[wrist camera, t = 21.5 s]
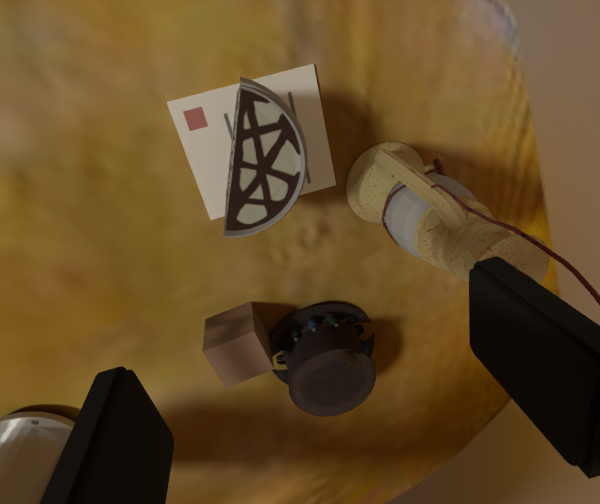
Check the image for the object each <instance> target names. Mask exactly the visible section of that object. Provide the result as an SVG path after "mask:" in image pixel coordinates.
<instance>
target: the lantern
mask: <svg viewBox="0 0 600 504" xmlns="http://www.w3.org/2000/svg"><path fill="white" fill-rule="evenodd" d="M433 162H434V163H432V164H429V165H427V166H424V163H423V161H422V159H421V157H420V156H419V154H418V153H417V152H416V151H415V150H414V149H413V148H411V147H410V146H408V145H406V144H403V143H400V142H384V143H380V144H377V145H375V146H373V147H371V148H369V149H368V150H366V151H365V152H364V153H363V154H361V155H360V156H359V158H358V159H357V160H356V161H355V163H354V164H353V166H352V167H351V169H350V171H349V174H348V176H347V182H346V196H347V199H348V202H349V205H350V207H351V208H352V210H353V211H354V212H355V213H356V214H357V215H358V216H359V217H360V218H362V219H364V220H366V221H368V222H372V223H378V224H381V225H383V226H384V227H385V229H386V230H387V232H388V234H389V236H390V237H391V238H392V239H393V240H394V242H395V243H396V244H398V245H400V246H401V247H402V248H403V249H404V250H406V251H407V252H409V253H410V254H412V255H414V256H416V257H418V258H420V259H422V260H424V261H426V262H428V263H431V265H433V266H435V267H437V268H439V269H443V270H446V271H448V272H450V273H452V274H455V275H456V276H457V277H458V278H459V279H461V280H463V281H465V282H469V271H470V270H471V269H473V268H474V264H475V263H476V262H478V261H481V260H485V259H488V258H492V257H495V256H498V257H500V258H502V259H504V260H505V261H507V262H508V263H509V264H511V265H512V266H514V267H515V268H517V269H518V270H520V271H521V272H522V273H524V274H525V275H527V276H528V277H530V278H531V279H533V280H534V281H535V282H537V283H538V284H541V282H542V281H543V279H544V277H545V275H546V273H547V270H548V267H549V259H550V258H549V255H550V256H551V257H553V258H554V259H556V260H557V261H559V262H560V263H562V264H563V265H564V266H565V267H566V268H567V269H569V270H570V271H571V272H572V273H573V274H574V275H575V276H576V277H577V279H578V280H579V281H580V282H581V283H582V284H583V285H584V286H585V288H586V289H587V290H588V291H589V292H590V293H591V295H592V296H593V297H594V298H595V300H596V301H597V302H598V304H599V305H600V296H599V295H598V293H597V292H596V291H595V290H594V289H593V287H592V286H591V285H590V284H589V283H588V282H587V281H586V280H585V278H584V277H583V276H582V275H581V274H580V273H579V272H578V271H577V270H576V269H575V268H574V267H572V265H570V264H569V263H568V262H567V261H566V260H564V259H563V258H561V257H560V256H558V255H557V254H556V253H554V252H553V251H551V250H550V249H548V248H547V246H546V245H545V243H544V242H543V241H542V240H541V239H539V238H537V237H535V236H532V235H527V234H525V233H523V232H522V231H520V230H519V229H517V228H515V227H513V226H511V225H508V224H505V223H502V222H499V221H497V220H496V219H495V218H494V217H493V216H492V214H491V212H490V211H489V210H488V208H487V207H486V206H484V205H483V204H481V203H479V202H478V201H477V200H476V198H475V197H474V196H473V194H472V193H471V192H470V191H469V190H468V189H467V188H465V187H464V186H463V185H462V184H461V183H459V182H457V181H456V180H454V179H452V178H450V177H447V176H446V175H445V174H444V171H443V167H442V165H441V163H440V161H439V159H438V158H437V159H434V160H433ZM508 229H509V230H511V231H513V232H515V233H517V235H511V234H510V232H509V231H508Z"/></svg>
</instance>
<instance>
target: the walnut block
mask: <svg viewBox="0 0 600 504" xmlns="http://www.w3.org/2000/svg"><path fill="white" fill-rule="evenodd" d="M202 352H203V353H204V355H205V356H206V358H207V360H208V361H209V363H210V364H211V366H212V367H213V369H214V370H215V372H216V374H217V375H218V377H219V378H220V380H221V381H222V383H223V385H224V386H225V388H226V387H229V386H231V385H234V384H237V383H239V382H242V381H244V380H247V379H249V378H252V377H255V376H257V375H260V374H262V373H265V372H267V371H270V370H273V369H274V366H273V359H272V352H271V346H270V339H269V335H268V333H267V331H266V329H265V327H264V325H263V323H262V321H261V319H260V317H259V315H258V313H257V311H256V309H255V307H254V305H253V304H252V302H249V303H246V304H244V305H241V306H238V307H236V308H233V309H231V310H228V311H226V312H223V313H220V314H218V315H215V316H213V317H210V318H207V319H206V321H205V331H204V341H203V351H202Z"/></svg>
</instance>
